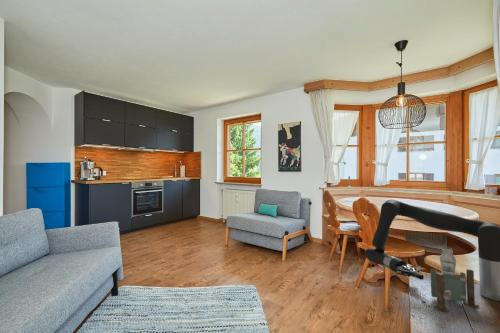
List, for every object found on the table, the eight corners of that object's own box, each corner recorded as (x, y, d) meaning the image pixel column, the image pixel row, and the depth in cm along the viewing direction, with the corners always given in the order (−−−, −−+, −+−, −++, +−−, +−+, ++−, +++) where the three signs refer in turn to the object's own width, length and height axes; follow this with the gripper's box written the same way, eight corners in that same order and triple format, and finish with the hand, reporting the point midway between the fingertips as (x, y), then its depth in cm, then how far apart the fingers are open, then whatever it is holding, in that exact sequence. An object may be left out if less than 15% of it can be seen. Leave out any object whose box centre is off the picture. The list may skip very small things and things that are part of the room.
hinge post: (470, 302, 110) (468, 268, 110) (479, 307, 106) (477, 271, 107) (463, 303, 109) (462, 269, 109) (472, 308, 106) (470, 272, 106)
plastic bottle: (461, 293, 118) (459, 250, 119) (444, 292, 120) (443, 250, 120) (453, 287, 125) (451, 246, 125) (437, 286, 126) (436, 246, 127)
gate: (465, 300, 109) (464, 272, 109) (466, 302, 108) (465, 274, 108) (431, 295, 114) (430, 268, 114) (432, 296, 113) (431, 270, 113)
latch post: (442, 306, 107) (441, 271, 107) (451, 312, 103) (450, 275, 103) (433, 308, 106) (432, 272, 106) (443, 313, 102) (441, 276, 102)
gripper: (384, 258, 135) (410, 270, 118) (405, 256, 138) (433, 268, 121) (384, 272, 135) (410, 286, 118) (405, 270, 138) (434, 284, 121)
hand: (422, 277), depth 120 cm, fingers closed
